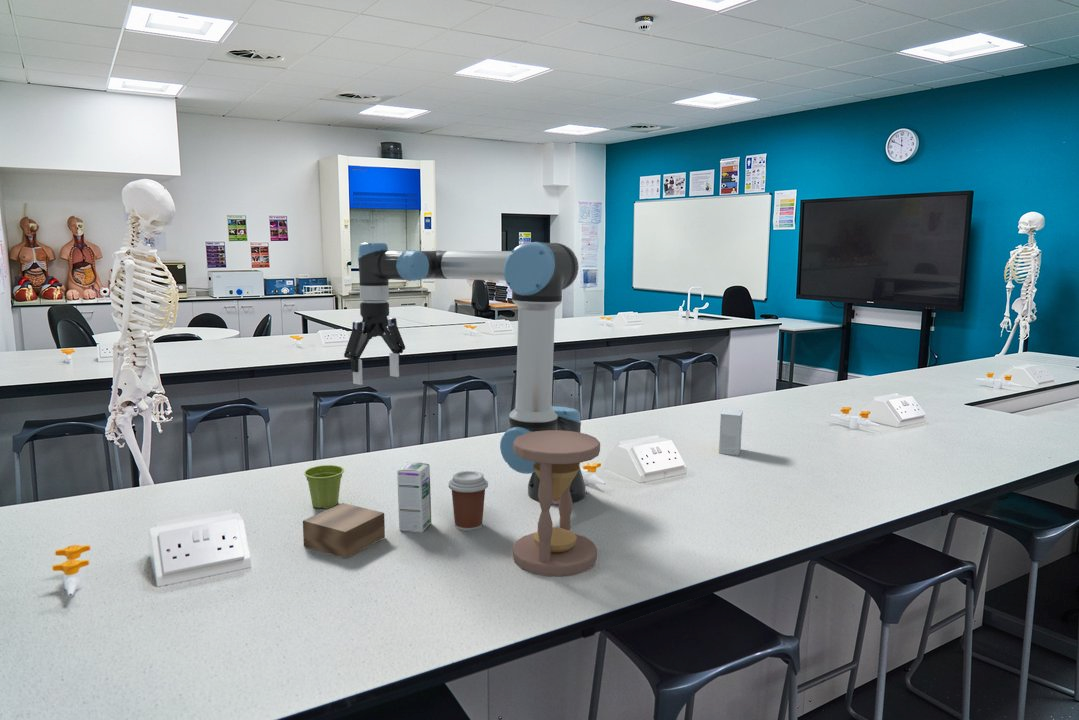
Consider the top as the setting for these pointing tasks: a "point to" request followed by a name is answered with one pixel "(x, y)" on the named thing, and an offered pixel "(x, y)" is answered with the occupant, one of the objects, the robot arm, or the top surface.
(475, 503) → the coffee cup
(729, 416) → the small box
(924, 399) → the top surface
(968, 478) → the top surface
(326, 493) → the plant pot
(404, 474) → the syrup box
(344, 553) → the base block
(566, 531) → the hourglass
